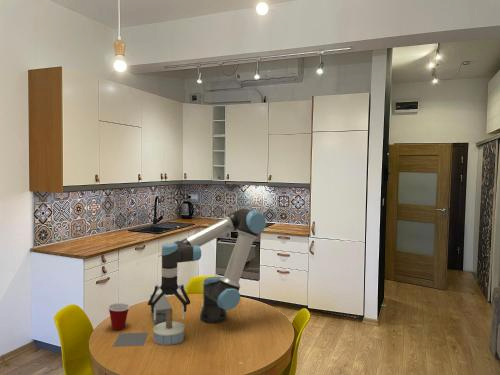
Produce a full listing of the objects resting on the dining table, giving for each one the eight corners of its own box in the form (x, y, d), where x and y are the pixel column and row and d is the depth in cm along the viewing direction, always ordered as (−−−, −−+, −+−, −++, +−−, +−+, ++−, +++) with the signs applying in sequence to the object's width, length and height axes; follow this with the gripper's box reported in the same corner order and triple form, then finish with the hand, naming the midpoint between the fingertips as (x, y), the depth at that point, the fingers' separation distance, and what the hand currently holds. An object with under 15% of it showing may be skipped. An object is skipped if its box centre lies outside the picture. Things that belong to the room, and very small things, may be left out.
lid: (185, 322, 189) (185, 303, 188) (183, 335, 174) (183, 314, 173) (155, 323, 187) (155, 304, 187) (150, 336, 172) (151, 315, 172)
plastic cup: (128, 332, 187) (128, 309, 187) (105, 333, 185) (105, 310, 185) (131, 323, 198) (131, 301, 197) (110, 324, 196) (110, 302, 196)
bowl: (184, 332, 188) (184, 322, 188) (182, 345, 174) (182, 334, 174) (156, 333, 187) (156, 323, 187) (152, 346, 173) (152, 335, 173)
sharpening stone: (171, 328, 193) (172, 308, 192) (156, 331, 190) (156, 310, 189) (164, 311, 216) (164, 293, 215) (150, 313, 213) (150, 295, 212)
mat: (148, 333, 186) (148, 332, 186) (143, 346, 172) (143, 345, 172) (119, 334, 185) (119, 333, 185) (112, 347, 171) (112, 346, 171)
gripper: (195, 273, 184) (195, 315, 185) (144, 273, 182) (144, 316, 183) (195, 277, 177) (194, 320, 178) (141, 278, 174) (141, 322, 175)
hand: (169, 318), depth 180 cm, fingers open, 13 cm apart
